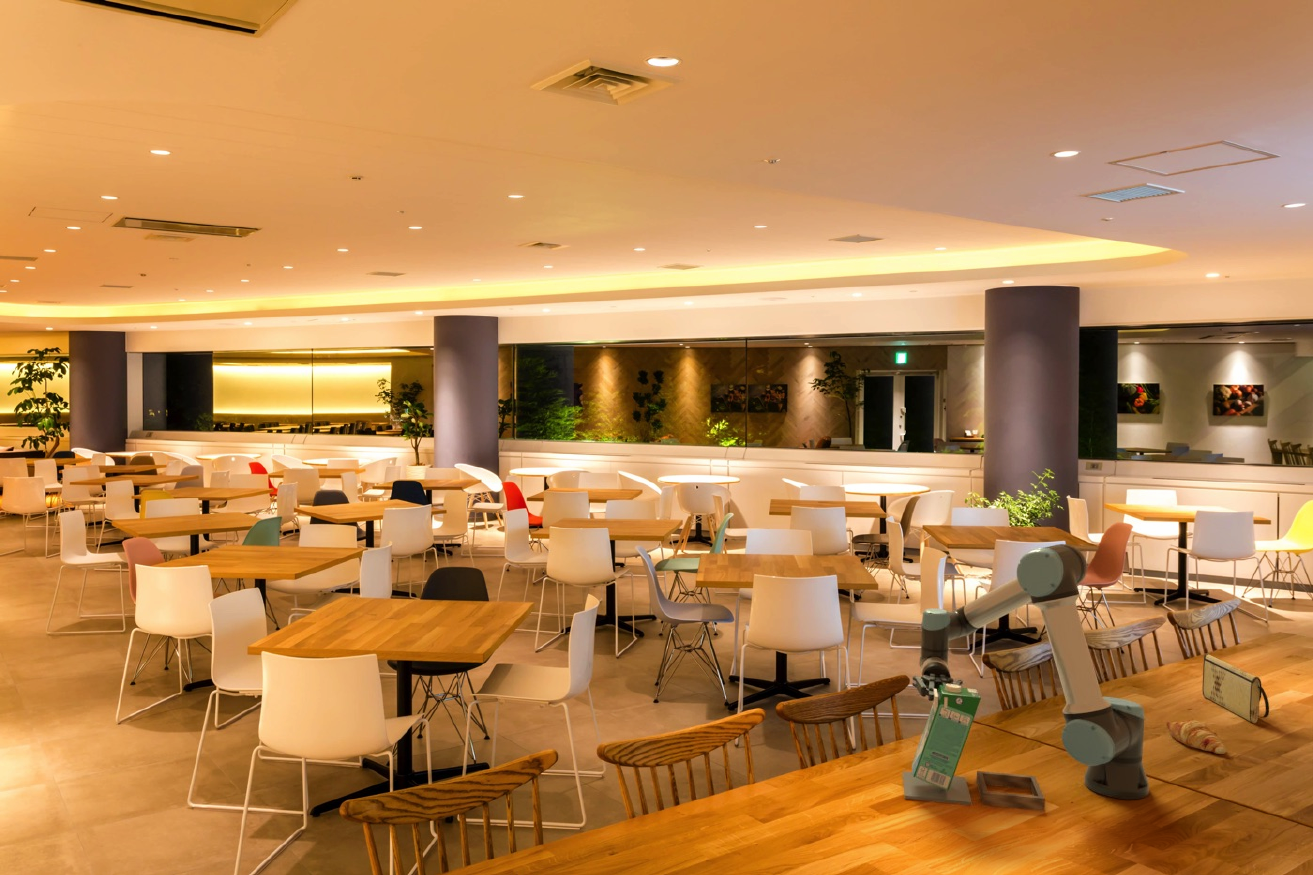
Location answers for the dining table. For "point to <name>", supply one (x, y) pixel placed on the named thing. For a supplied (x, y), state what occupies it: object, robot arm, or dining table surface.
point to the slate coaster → (936, 790)
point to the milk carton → (945, 735)
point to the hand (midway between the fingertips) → (941, 702)
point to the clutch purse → (1233, 688)
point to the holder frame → (1010, 799)
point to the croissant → (1196, 736)
